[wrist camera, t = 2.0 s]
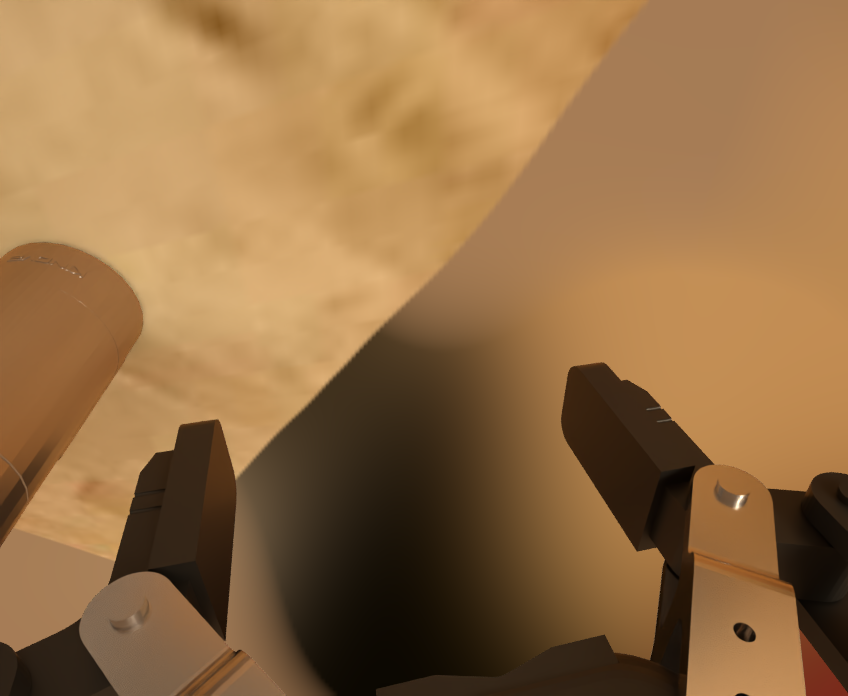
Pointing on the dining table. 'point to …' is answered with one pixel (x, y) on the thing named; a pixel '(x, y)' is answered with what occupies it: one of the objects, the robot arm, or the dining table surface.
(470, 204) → the dining table surface
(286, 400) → the dining table surface
